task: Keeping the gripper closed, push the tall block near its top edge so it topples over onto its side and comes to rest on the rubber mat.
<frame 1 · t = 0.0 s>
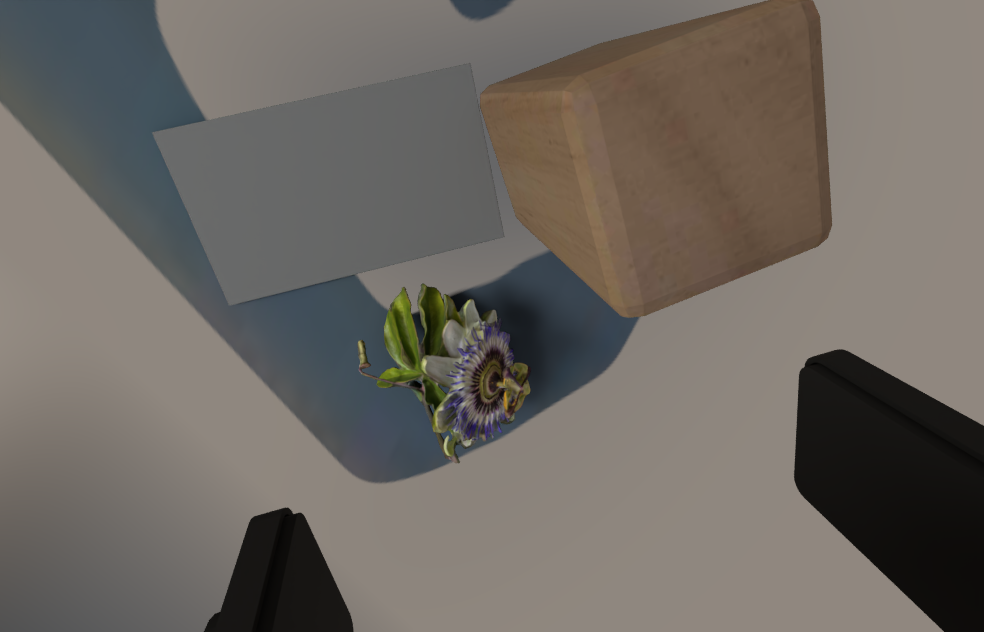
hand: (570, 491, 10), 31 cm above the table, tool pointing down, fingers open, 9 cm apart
block: (559, 137, 38), on the table
rubber mat: (345, 188, 37), on the table
passion flower: (443, 348, 43), on the table
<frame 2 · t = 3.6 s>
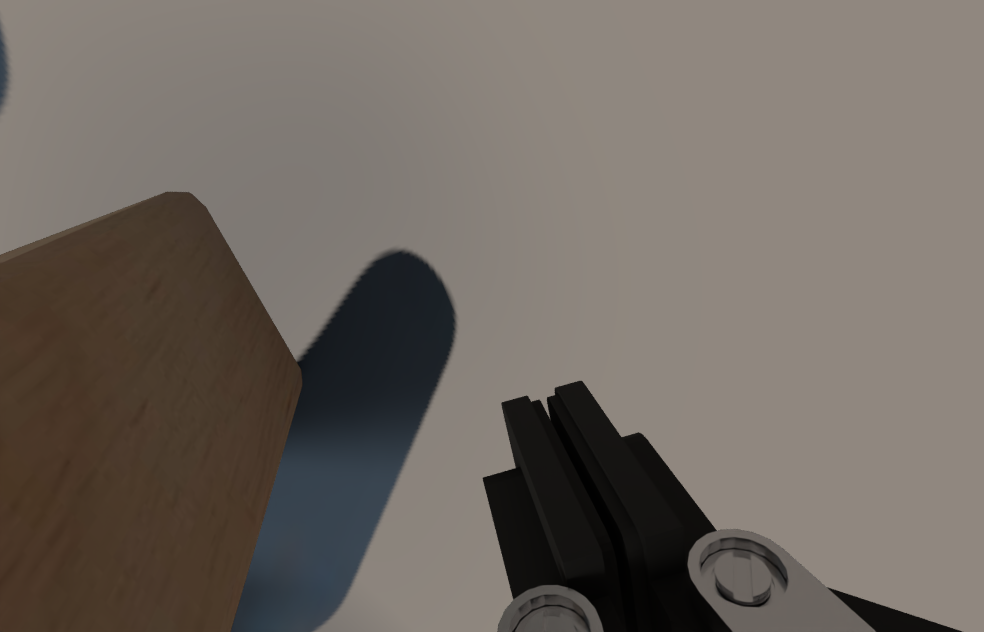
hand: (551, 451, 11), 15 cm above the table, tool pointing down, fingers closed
block: (156, 326, 23), on the table
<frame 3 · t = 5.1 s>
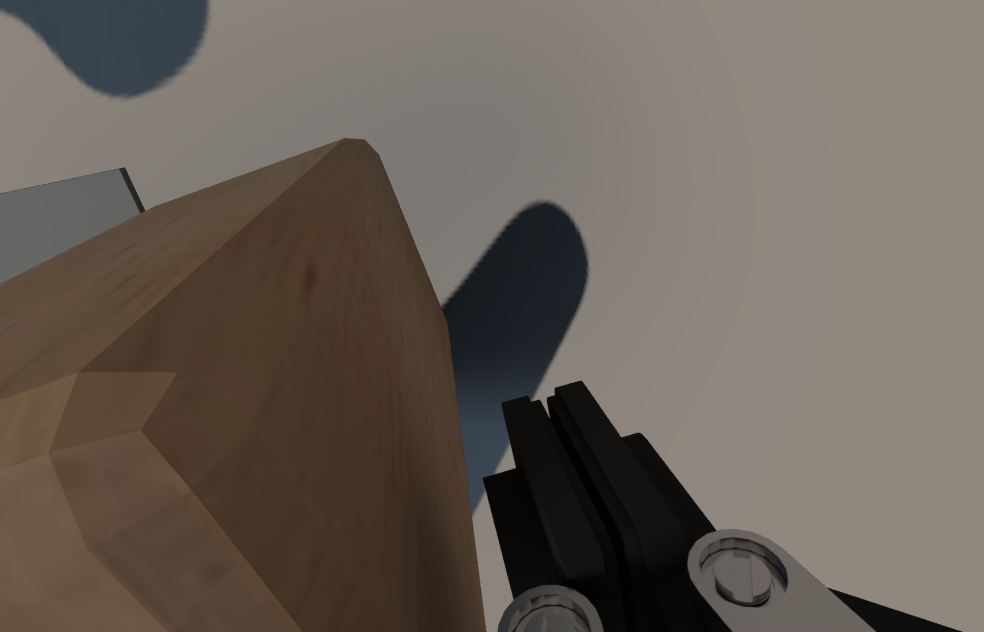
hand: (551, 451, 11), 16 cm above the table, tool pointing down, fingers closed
block: (312, 274, 24), on the table, touching gripper, rubber mat
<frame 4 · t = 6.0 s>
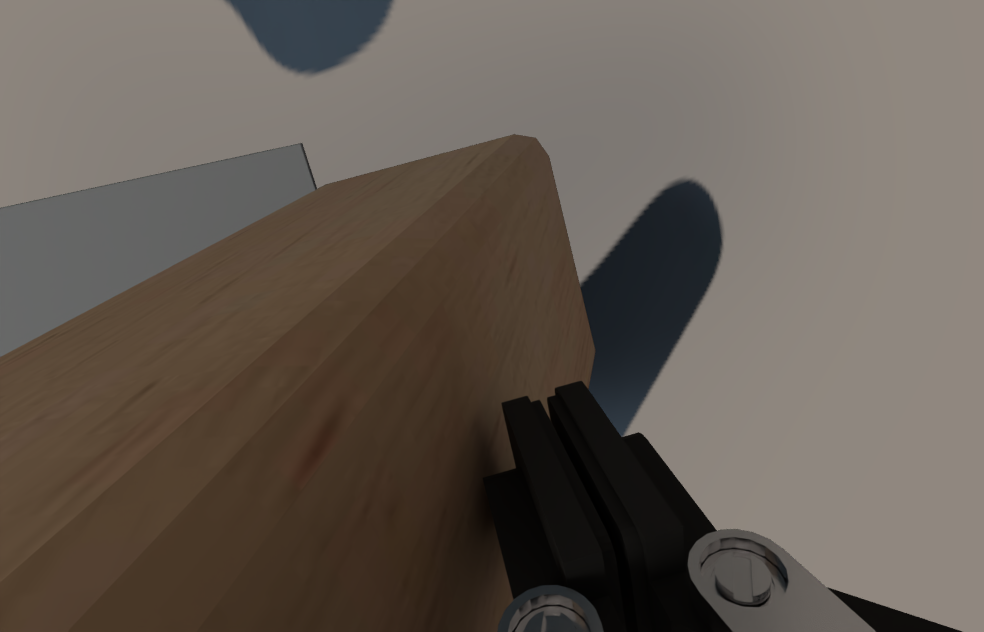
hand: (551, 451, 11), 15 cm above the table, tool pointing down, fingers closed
block: (463, 269, 23), point 2 cm above the table, touching rubber mat
rubber mat: (113, 334, 23), on the table
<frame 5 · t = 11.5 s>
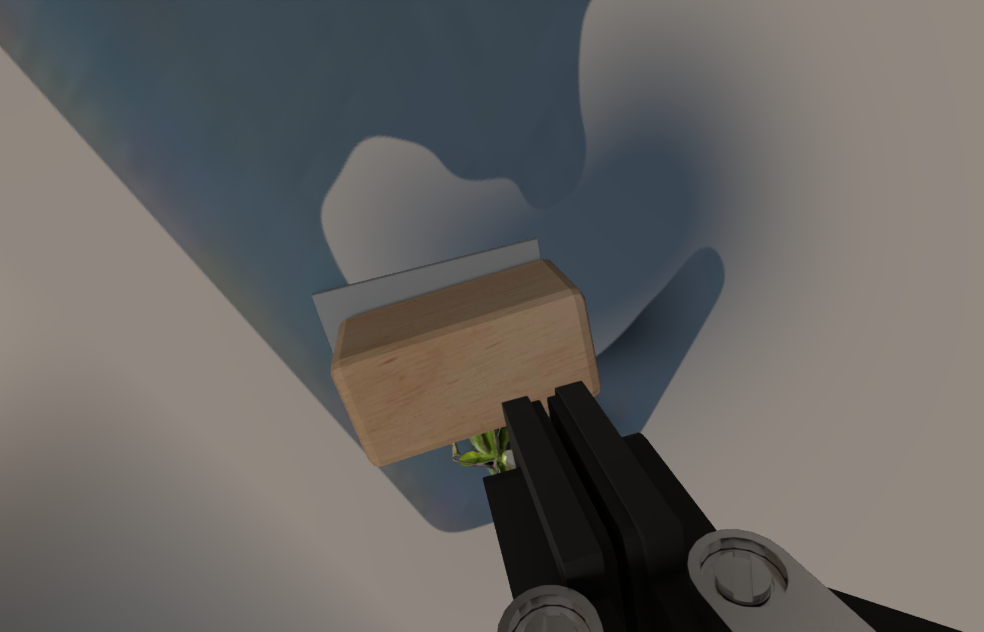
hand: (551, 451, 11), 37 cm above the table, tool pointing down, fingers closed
block: (578, 321, 46), point 5 cm above the table, touching rubber mat
rubber mat: (442, 324, 50), on the table
passion flower: (506, 431, 56), on the table
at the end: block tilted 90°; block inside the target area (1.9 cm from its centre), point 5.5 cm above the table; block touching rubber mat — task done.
